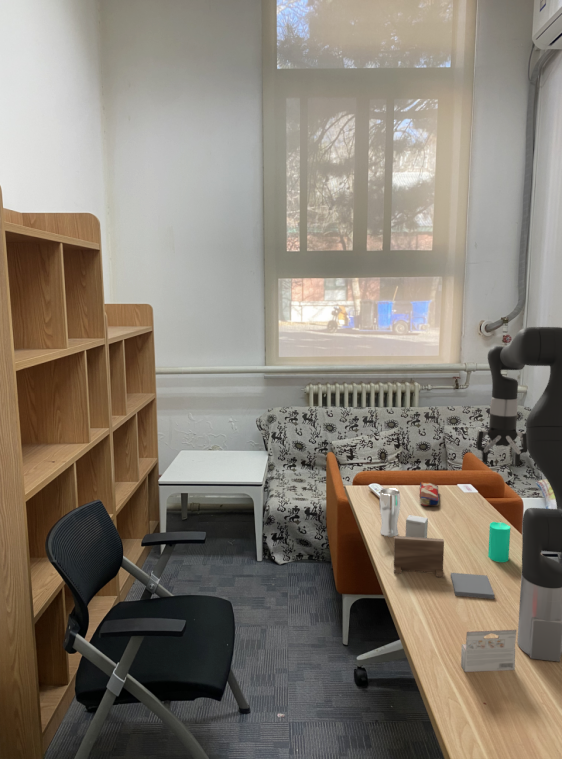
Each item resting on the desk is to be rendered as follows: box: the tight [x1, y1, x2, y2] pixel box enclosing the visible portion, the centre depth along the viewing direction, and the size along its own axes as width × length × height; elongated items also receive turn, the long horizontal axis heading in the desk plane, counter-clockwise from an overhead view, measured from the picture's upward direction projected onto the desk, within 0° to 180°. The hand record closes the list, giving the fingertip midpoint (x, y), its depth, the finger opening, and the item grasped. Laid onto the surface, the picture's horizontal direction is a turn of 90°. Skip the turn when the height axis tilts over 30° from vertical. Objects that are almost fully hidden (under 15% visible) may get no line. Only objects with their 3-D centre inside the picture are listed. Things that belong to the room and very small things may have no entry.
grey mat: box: [450, 572, 495, 600], centre depth 146 cm, size 10×10×1 cm
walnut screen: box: [393, 535, 445, 578], centre depth 154 cm, size 6×14×10 cm, turn 79°
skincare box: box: [405, 514, 429, 538], centre depth 164 cm, size 6×4×12 cm
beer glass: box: [379, 487, 401, 538], centre depth 179 cm, size 7×7×15 cm
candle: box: [487, 520, 511, 563], centre depth 161 cm, size 6×6×12 cm
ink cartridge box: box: [460, 629, 518, 673], centre depth 113 cm, size 2×11×10 cm, turn 92°
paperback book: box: [418, 481, 440, 507], centre depth 210 cm, size 11×20×5 cm, turn 150°
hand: (500, 464), depth 160 cm, fingers open, 8 cm apart
